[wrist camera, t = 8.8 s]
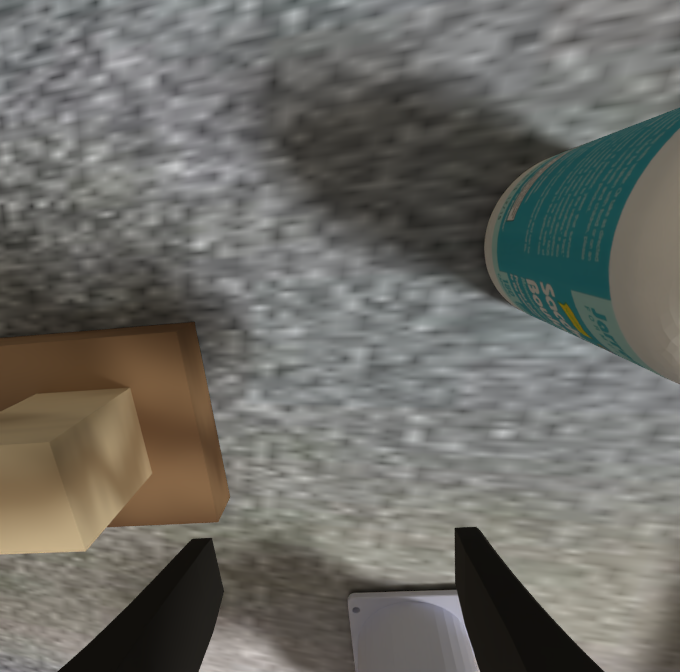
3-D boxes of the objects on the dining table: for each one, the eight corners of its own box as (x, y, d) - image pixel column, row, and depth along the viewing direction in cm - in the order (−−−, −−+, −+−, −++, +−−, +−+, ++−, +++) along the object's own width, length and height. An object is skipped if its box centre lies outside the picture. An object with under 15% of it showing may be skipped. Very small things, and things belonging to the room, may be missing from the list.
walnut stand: (230, 497, 22) (217, 522, 20) (59, 505, 23) (32, 530, 21) (194, 322, 19) (176, 331, 17) (0, 338, 20) (-38, 348, 18)
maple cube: (152, 473, 20) (85, 551, 15) (64, 477, 20) (-29, 555, 15) (130, 387, 18) (48, 442, 13) (36, 393, 19) (-76, 449, 14)
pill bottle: (456, 292, 18) (702, 434, 5) (514, 134, 16) (1132, -257, 3) (596, 332, 19) (1159, 561, 6) (670, 181, 17) (1823, -15, 4)
